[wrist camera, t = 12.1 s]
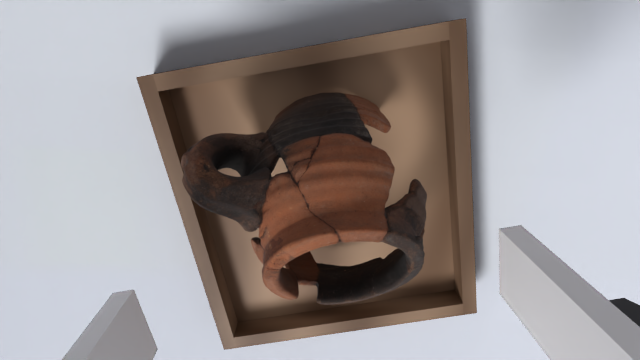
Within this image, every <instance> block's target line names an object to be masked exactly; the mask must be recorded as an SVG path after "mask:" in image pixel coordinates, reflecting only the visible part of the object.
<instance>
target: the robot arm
mask: <svg viewBox="0 0 640 360" xmlns="http://www.w3.org/2000/svg"><path fill="white" fill-rule="evenodd" d="M499 283H500V295H501V296H502V298H503V299H504V300H505V301H506V303H507V304H508V305H509V307H510V308H511V309H512V311H513V312H514V313H515V314H516V316H517V317H518V318H519V320H520V321H521V322H522V324H523V325H524V326H525V328H526V329H527V330H528V331H529V333H530V334H531V335H532V337H533V338H534V339H535V341H536V342H537V343H538V345H539V346H540V347H541V348H542V350H543V351H544V352H545V354H546V355H547V356H548V358H549V359H550V360H640V305H638V304H636V303H634V302H631V301H629V300H627V299H625V298H621V299H614V300H608V299H606V298H605V297H604V296H603V295H602V294H601V293H599V292H598V291H597V290H596V289H595V288H594V287H592V286H591V285H590V284H589V283H588V282H587V281H585V280H584V279H583V278H582V277H581V276H580V275H578V274H577V273H576V272H575V271H574V270H573V269H571V268H570V267H569V266H568V265H567V264H566V263H564V262H563V261H562V260H561V259H560V258H559V257H557V256H556V255H555V254H554V253H553V252H552V251H550V250H549V249H548V248H547V247H546V246H545V245H543V244H542V243H541V242H540V241H539V240H538V239H536V238H535V237H534V236H533V235H532V234H531V233H529V232H528V231H527V230H526V229H525V228H524V227H522V226H521V225H519V226H513V227H507V228H501V229H499ZM156 352H157V346H156V344H155V341H154V339H153V336H152V334H151V331H150V329H149V326H148V324H147V321H146V319H145V316H144V314H143V312H142V309H141V307H140V304H139V302H138V299H137V297H136V294H135V292H134V290H128V291H122V292H116V293H112V295H111V296H110V297H109V299H108V300H107V301H106V303H105V304H104V305H103V307H102V308H101V309H100V310H99V312H98V313H97V314H96V316H95V317H94V318H93V320H92V321H91V322H90V324H89V325H88V326H87V328H86V329H85V330H84V331H83V333H82V334H81V335H80V337H79V338H78V339H77V341H76V342H75V343H74V345H73V346H72V347H71V349H70V350H69V351H68V352H67V354H66V355H65V356H64V358H63V359H62V360H153V358H154V356H155V354H156Z"/></svg>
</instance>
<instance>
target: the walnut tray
mask: <svg viewBox="0 0 640 360" xmlns="http://www.w3.org/2000/svg"><path fill="white" fill-rule="evenodd" d="M136 78H137V81H138V84H139V87H140V90H141V93H142V96H143V99H144V103H145V106H146V109H147V112H148V115H149V118H150V121H151V124H152V127H153V130H154V134H155V137H156V140H157V143H158V146H159V149H160V152H161V155H162V158H163V161H164V165H165V168H166V171H167V174H168V177H169V180H170V183H171V186H172V189H173V193H174V196H175V199H176V202H177V205H178V208H179V211H180V214H181V217H182V220H183V224H184V227H185V230H186V233H187V236H188V239H189V242H190V245H191V248H192V251H193V255H194V258H195V261H196V264H197V267H198V270H199V273H200V276H201V279H202V282H203V286H204V289H205V292H206V295H207V298H208V301H209V304H210V307H211V310H212V313H213V317H214V320H215V323H216V326H217V329H218V332H219V335H220V338H221V341H222V344H223V348H224V350H225V349H232V348H239V347H246V346H253V345H260V344H266V343H273V342H280V341H287V340H294V339H301V338H308V337H314V336H321V335H328V334H335V333H342V332H349V331H356V330H362V329H369V328H376V327H383V326H390V325H397V324H404V323H410V322H417V321H424V320H431V319H438V318H445V317H452V316H458V315H465V314H472V313H477V307H476V279H475V251H474V223H473V196H472V168H471V140H470V112H469V85H468V57H467V29H466V18H465V19H458V20H452V21H446V22H441V23H435V24H429V25H424V26H418V27H413V28H407V29H402V30H396V31H390V32H385V33H379V34H374V35H368V36H363V37H357V38H351V39H346V40H340V41H335V42H329V43H324V44H318V45H312V46H307V47H301V48H296V49H290V50H285V51H279V52H273V53H268V54H262V55H257V56H251V57H246V58H240V59H234V60H229V61H223V62H218V63H212V64H207V65H201V66H195V67H190V68H184V69H179V70H173V71H168V72H162V73H156V74H151V75H146V76H141V77H136ZM319 93H343V94H350V95H355V96H359V97H362V98H364V99H367V100H369V101H371V102H372V103H374V104H375V105H377V106H378V108H379V109H380V111H381V112H382V113H383V114H384V116H385V117H386V118H387V119H388V121H389V122H390V125H391V129H390V130H389V131H388V132H387V133H383V132H381V131H379V130H377V129H375V128H373V127H371V126H368V125H365V124H364V125H365V127H366V128H367V129H368V131H369V133H370V136H371V137H372V143H371V144H372V145H373V146H376V147H378V148H380V149H382V150H384V151H385V152H386V153H387V154H388V156H389V157H390V159H391V161H392V164H393V165H394V167H395V171H394V176H393V180H392V185H391V188H390V190H389V197H388V200H387V202H386V204H385V208H386V207H388V206H390V205H392V204H395V203H396V202H397V201H399V200H400V199H402V198H403V196H404V195H405V194H408V192H409V186H410V183H411V181H412V180H413V179H417V180H419V181H420V183H421V184H422V186H423V187H424V189H425V191H426V193H427V200H426V207H425V208H426V221H425V227H424V230H425V232H424V235H423V246H424V249H423V251H424V253H425V256H424V264H423V265H422V266H423V267H422V269H421V270H420V272H419V273H418V274H417V275H416V276H415V277H414V278H413V279H411V280H410V281H409V282H407V283H406V284H404V285H402V286H400V287H398V288H397V289H395V290H392V291H390V292H387V293H385V294H380V295H379V296H376V297H373V298H370V299H366V300H362V301H357V302H352V303H344V304H334V305H332V304H330V305H322V304H320V303H317V286H310V285H298V287H299V296H298V298H297V299H293V300H288V299H284V298H282V297H280V296H278V295H276V294H274V293H273V292H271V291H270V290H269V289H268V288H267V287H266V286H265V284H264V282H263V278H262V268H263V264H262V263H261V262H260V260H259V259H258V257H257V255H256V253H255V252H254V250H253V247H252V244H251V239H252V238H254V237H258V238H259V228H258V229H257V230H256V231H253V232H247V231H245V230H244V229H243V228H242V226H241V225H240V224H239V223H238V222H236V221H235V220H233V219H230V218H227V217H225V216H222V215H219V214H216V213H213V212H210V211H208V210H206V209H204V208H202V207H200V206H199V205H198V204H197V203H195V202H194V201H193V200H192V198H191V197H190V196H189V194H188V193H187V191H186V189H185V187H184V185H183V183H182V178H183V175H184V172H183V169H182V167H181V159H182V156H183V154H184V153H186V152H187V151H188V149H189V148H190V147H191V146H192V145H194V144H196V143H197V142H198V141H200V140H202V139H203V138H205V137H207V136H210V135H213V134H219V133H234V134H245V135H246V134H257V133H260V132H264V133H266V131H267V130H268V129H269V127H270V125H271V124H272V123H273V121H274V119H275V117H276V115H278V114H279V113H280V112H281V111H282V110H283V109H284V108H286V107H287V106H289V105H290V104H292V103H293V102H295V101H296V100H298V99H301V98H304V97H307V96H311V95H315V94H319ZM218 171H219V172H221V173H223V174H226V175H229V176H235V177H241V176H240V174H239V173H238V172H237V171H236V170H233V169H231V168H223V169H220V170H218ZM287 171H288V170H287V168H286V165H285V163H284V161H283V159H282V158H279V160H278V162H277V164H276V166H275V168H274V170H273V172H272V173H271V176H272V177H273V176H275V175H276V174H279V173H284V172H287ZM395 249H397V248H396V247H394V246H391V245H388V244H386V243H384V242H347V243H344V242H339V243H337V244H333V245H329V246H324V247H320V248H318V249H315V250H312V251H310V252H311V254H312V255H313V258H314V260H315V261H316V263H323V264H330V265H337V266H353V265H357V264H361V263H364V262H367V261H369V260H372V259H375V258H379V257H381V258H382V259H384V258H385V257H387V255H389V254H390V253H391V252H393V251H394V250H395ZM283 267H284V268H286V267H285V265H284V266H283Z"/></svg>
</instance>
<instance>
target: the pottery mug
mask: <svg viewBox="0 0 640 360" xmlns="http://www.w3.org/2000/svg"><path fill="white" fill-rule="evenodd" d="M364 124H365V125H368V126H371V127H373V128H375V129H377V130H379V131H381V132H383V133H387V132H388V131H389V130H390V129H391V125H390V122H389V121H388V119H387V118H386V117H385V116H384V114H383V113H382V112H381V111H380V109H379V108H378V106H377V105H375V104H374V103H372V102H371V101H369V100H367V99H364V98H362V97H359V96H355V95H350V94H343V93H319V94H315V95H311V96H307V97H304V98H301V99H298V100H296V101H295V102H293V103H292V104H290V105H289V106H287V107H286V108H284V109H283V110H282V111H281V112H280V113H279V114H278V115H276V117H275V119H274V121H273V123H272V124H271V125H270V127H269V129H268V130H267V131H266V133H264V132H260V133H257V134H246V135H245V134H234V133H219V134H213V135H210V136H207V137H205V138H203V139H202V140H200V141H198V142H197V143H196V144H194V145H192V146H191V147H190V148H189V149H188V151H187V152H186V153H184V154H183V156H182V159H181V167H182V169H183V172H184V175H183V178H182V183H183V185H184V187H185V189H186V191H187V193H188V194H189V196H190V197H191V198H192V200H193V201H194V202H195V203H197V204H198V205H199V206H200V207H202V208H204V209H206V210H208V211H210V212H213V213H216V214H219V215H222V216H225V217H227V218H230V219H233V220H235V221H236V222H238V223H239V224H240V225H241V226H242V228H243V229H244V230H245V231H247V232H253V231H256V230H257V229H258V228H259V238H258V237H254V238H252V239H251V244H252V247H253V250H254V252H255V253H256V255H257V257H258V259H259V260H260V262H261V263H262V264H263V268H262V278H263V282H264V284H265V286H266V287H267V288H268V289H269V290H270V291H271V292H273V293H274V294H276V295H278V296H280V297H282V298H284V299H288V300H293V299H297V298H298V296H299V287H298V285H310V286H317V303H320V304H322V305H330V304H332V305H334V304H344V303H352V302H357V301H362V300H366V299H370V298H373V297H376V296H379V295H380V294H385V293H387V292H390V291H392V290H395V289H397V288H398V287H400V286H402V285H404V284H406V283H407V282H409V281H410V280H411V279H413V278H414V277H415V276H416V275H417V274H418V273H419V272H420V270H421V269H422V267H423V266H422V265H423V264H424V256H425V253H424V251H423V249H424V246H423V235H424V232H425V230H424V227H425V221H426V208H425V207H426V200H427V193H426V191H425V189H424V187H423V186H422V184H421V183H420V181H419V180H417V179H413V180H412V181H411V183H410V186H409V192H408V194H405V195H404V196H403V198H402V199H400V200H399V201H397V202H396V203H395V204H392V205H390V206H388V207H386V208H385V204H386V202H387V200H388V197H389V190H390V188H391V185H392V180H393V176H394V171H395V167H394V165H393V164H392V161H391V159H390V157H389V156H388V154H387V153H386V152H385V151H384V150H382V149H380V148H378V147H376V146H373V145H372V144H371V143H372V137H371V136H370V133H369V131H368V129H367V128H366V127H365V125H364ZM279 158H282V159H283V161H284V163H285V165H286V168H287V170H288V171H287V172H284V173H279V174H276V175H275V176H273V177H272V176H271V173H272V172H273V170H274V168H275V166H276V164H277V162H278V160H279ZM223 168H231V169H233V170H236V171H237V172H238V173H239V174H240V176H241V177H235V176H229V175H226V174H223V173H221V172H219V171H218V170H220V169H223ZM339 242H344V243H347V242H384V243H386V244H388V245H391V246H394V247H396V248H397V249H395V250H394V251H393V252H391V253H390V254H389V255H387V257H385V258H384V259H382V258H381V257H379V258H375V259H372V260H369V261H367V262H364V263H361V264H357V265H353V266H337V265H330V264H323V263H316V261H315V260H314V258H313V255H312V254H311V252H310V251H312V250H315V249H318V248H320V247H324V246H329V245H333V244H337V243H339ZM284 265H285V267H286V268H284V267H283V266H284Z"/></svg>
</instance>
